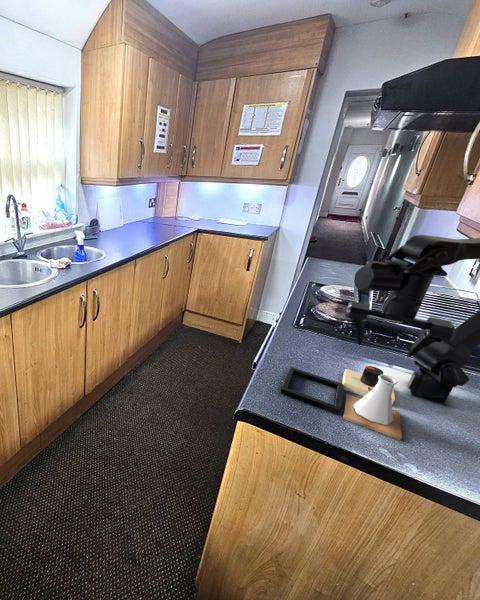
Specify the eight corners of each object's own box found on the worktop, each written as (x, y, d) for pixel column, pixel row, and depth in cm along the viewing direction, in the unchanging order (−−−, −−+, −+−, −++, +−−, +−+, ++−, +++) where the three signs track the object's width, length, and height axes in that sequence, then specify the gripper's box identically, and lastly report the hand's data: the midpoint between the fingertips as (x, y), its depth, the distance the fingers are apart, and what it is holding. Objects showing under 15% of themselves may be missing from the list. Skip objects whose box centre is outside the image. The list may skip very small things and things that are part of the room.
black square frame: (342, 388, 86) (344, 384, 85) (338, 415, 77) (340, 410, 76) (288, 370, 93) (289, 366, 92) (279, 393, 84) (281, 388, 84)
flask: (350, 414, 76) (365, 379, 72) (354, 398, 81) (368, 365, 77) (391, 430, 72) (410, 394, 68) (393, 413, 76) (410, 378, 72)
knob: (377, 381, 85) (383, 368, 83) (377, 388, 82) (384, 375, 81) (360, 376, 87) (365, 363, 85) (359, 383, 85) (365, 369, 83)
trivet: (398, 414, 77) (399, 411, 77) (400, 440, 70) (401, 437, 70) (345, 396, 83) (346, 393, 83) (342, 418, 76) (343, 416, 76)
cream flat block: (390, 389, 86) (393, 382, 85) (391, 405, 80) (395, 398, 79) (343, 374, 91) (345, 368, 90) (341, 388, 86) (344, 382, 85)
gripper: (460, 291, 75) (431, 349, 81) (357, 274, 86) (338, 326, 92) (470, 307, 67) (437, 370, 73) (355, 286, 78) (335, 342, 84)
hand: (382, 350), depth 81 cm, fingers open, 9 cm apart
